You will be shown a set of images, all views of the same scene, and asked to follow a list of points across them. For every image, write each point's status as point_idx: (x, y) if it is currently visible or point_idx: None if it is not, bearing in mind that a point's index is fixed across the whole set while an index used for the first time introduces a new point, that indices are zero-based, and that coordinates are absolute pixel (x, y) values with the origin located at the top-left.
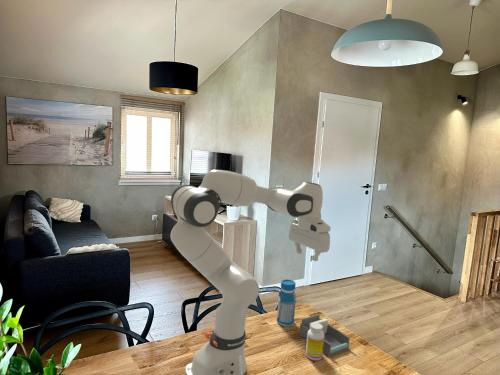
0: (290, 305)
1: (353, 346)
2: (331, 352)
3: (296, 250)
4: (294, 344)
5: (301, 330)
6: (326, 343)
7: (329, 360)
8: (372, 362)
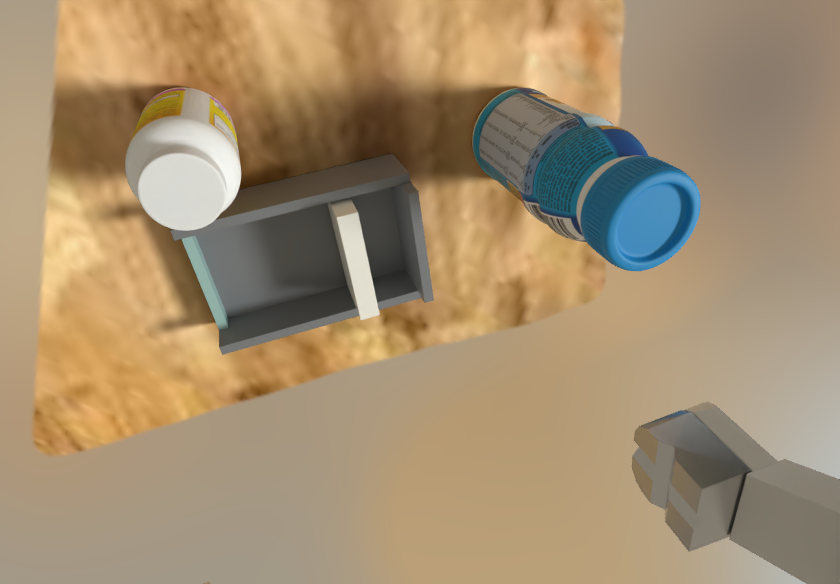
0: (522, 170)
1: None
2: None
3: (740, 436)
4: (313, 78)
5: (385, 165)
6: None
7: None
8: (100, 368)
